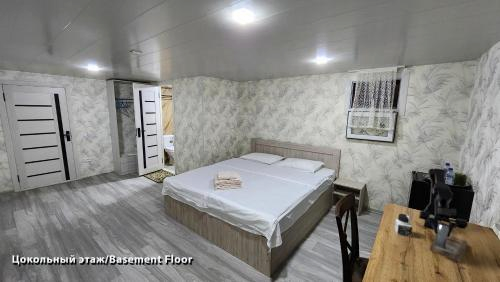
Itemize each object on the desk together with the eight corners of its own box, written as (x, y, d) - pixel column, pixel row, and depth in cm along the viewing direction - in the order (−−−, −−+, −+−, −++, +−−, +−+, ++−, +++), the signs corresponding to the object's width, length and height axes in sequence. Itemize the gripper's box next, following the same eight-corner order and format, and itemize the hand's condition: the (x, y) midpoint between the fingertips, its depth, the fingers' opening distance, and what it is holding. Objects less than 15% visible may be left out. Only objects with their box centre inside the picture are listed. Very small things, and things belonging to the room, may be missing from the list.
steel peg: (433, 244, 111) (437, 224, 109) (435, 241, 113) (439, 221, 111) (444, 249, 107) (448, 228, 105) (446, 246, 110) (450, 225, 108)
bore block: (429, 250, 116) (430, 246, 116) (439, 235, 129) (440, 232, 129) (459, 262, 107) (460, 258, 106) (467, 245, 120) (467, 241, 119)
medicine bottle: (397, 234, 130) (399, 217, 128) (394, 228, 137) (396, 211, 135) (411, 237, 127) (413, 219, 125) (407, 231, 134) (409, 213, 132)
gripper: (422, 197, 115) (421, 224, 108) (470, 206, 105) (472, 237, 98) (419, 204, 123) (418, 231, 116) (463, 214, 113) (465, 243, 105)
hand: (442, 235), depth 108 cm, fingers closed on steel peg, 4 cm apart
